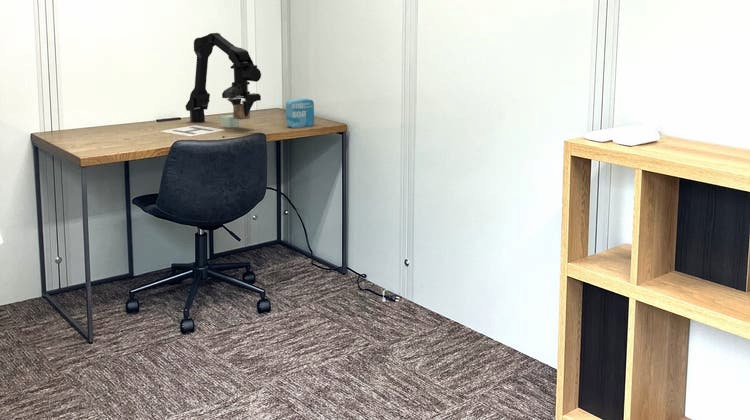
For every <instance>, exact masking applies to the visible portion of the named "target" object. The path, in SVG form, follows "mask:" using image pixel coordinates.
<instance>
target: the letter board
mask: <svg viewBox="0 0 750 420" xmlns="http://www.w3.org/2000/svg"><path fill="white" fill-rule="evenodd" d="M223 131H225V129H222V128H215V127H209V126H202V125H196V124H195V125H190V126H189V125H188V126H182V127H178V128H170V129H165V130H161V132H162V133H163V132H164V133H167V134H168V133H169V134H173V135H174V134H175V135H180V136H185V137H186V136H187V137H193V136H200V135H206V134H211V133H212V134H213V133H217V132H223Z"/></svg>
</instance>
